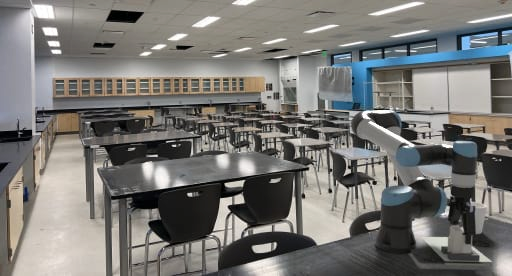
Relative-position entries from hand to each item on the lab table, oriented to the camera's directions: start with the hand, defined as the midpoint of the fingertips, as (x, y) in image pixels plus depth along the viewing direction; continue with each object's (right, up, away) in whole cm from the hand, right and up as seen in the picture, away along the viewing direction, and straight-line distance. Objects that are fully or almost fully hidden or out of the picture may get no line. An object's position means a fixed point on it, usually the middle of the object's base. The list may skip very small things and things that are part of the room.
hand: (460, 247), depth 135 cm
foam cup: (+19, -2, +25) cm, 31 cm away
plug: (0, -3, 0) cm, 3 cm away
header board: (+2, -4, +7) cm, 9 cm away
